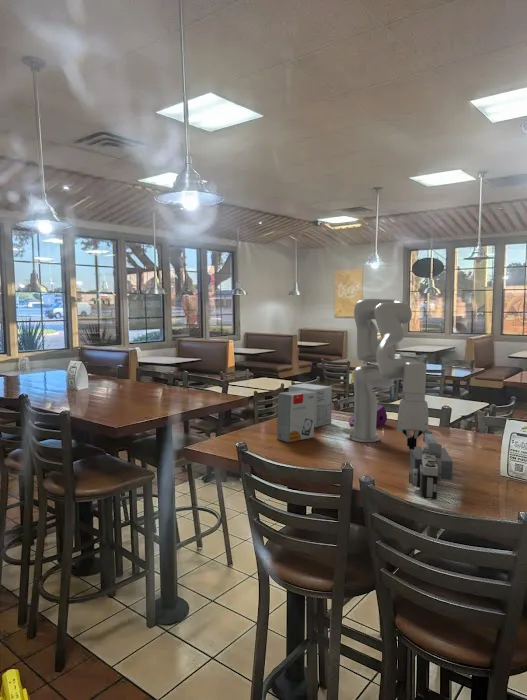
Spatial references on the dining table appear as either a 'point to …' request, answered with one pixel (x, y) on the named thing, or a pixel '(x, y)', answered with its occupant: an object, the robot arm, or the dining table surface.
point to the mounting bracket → (379, 420)
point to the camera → (426, 477)
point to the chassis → (443, 462)
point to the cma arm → (432, 444)
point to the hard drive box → (295, 415)
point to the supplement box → (318, 401)
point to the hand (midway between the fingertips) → (411, 448)
